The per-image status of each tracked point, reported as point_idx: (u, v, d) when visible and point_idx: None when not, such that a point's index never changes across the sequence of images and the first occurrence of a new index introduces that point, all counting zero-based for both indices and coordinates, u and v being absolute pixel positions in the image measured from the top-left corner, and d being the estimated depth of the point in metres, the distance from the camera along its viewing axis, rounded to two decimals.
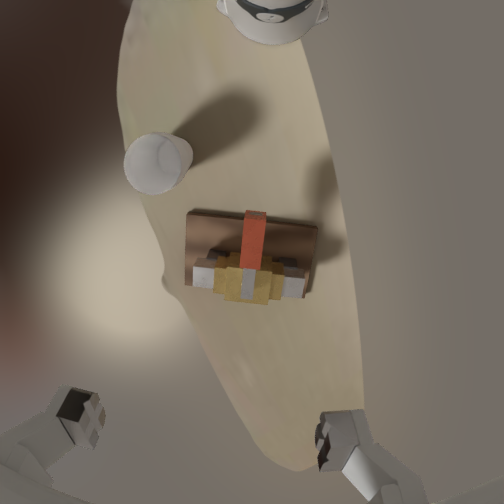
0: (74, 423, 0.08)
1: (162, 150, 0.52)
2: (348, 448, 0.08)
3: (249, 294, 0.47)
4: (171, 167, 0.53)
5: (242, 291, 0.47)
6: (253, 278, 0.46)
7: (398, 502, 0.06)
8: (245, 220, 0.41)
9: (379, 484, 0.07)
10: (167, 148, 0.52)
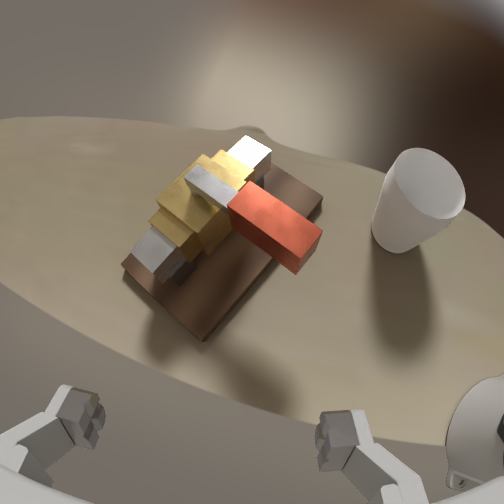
0: (73, 423, 0.08)
1: None
2: (348, 448, 0.08)
3: (193, 177, 0.28)
4: None
5: (205, 171, 0.28)
6: (213, 195, 0.27)
7: (398, 502, 0.06)
8: (318, 230, 0.23)
9: (379, 484, 0.07)
10: None
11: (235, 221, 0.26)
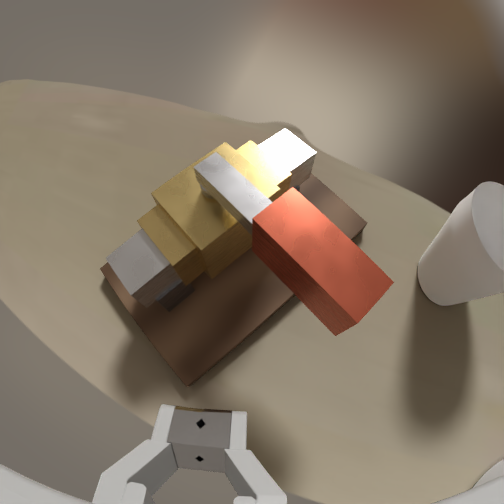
0: (190, 446, 0.08)
1: None
2: (218, 450, 0.08)
3: (208, 169, 0.19)
4: None
5: (225, 164, 0.19)
6: (233, 200, 0.18)
7: None
8: (387, 280, 0.14)
9: (247, 494, 0.07)
10: None
11: (260, 245, 0.17)
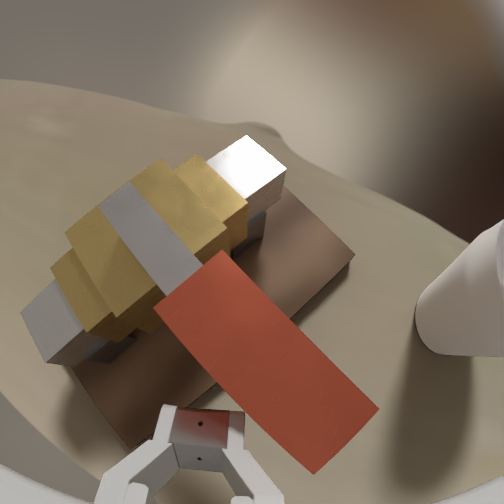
0: (192, 447, 0.08)
1: None
2: (216, 449, 0.08)
3: (115, 210, 0.13)
4: None
5: (139, 200, 0.13)
6: (144, 259, 0.12)
7: None
8: (370, 408, 0.08)
9: (244, 494, 0.07)
10: None
11: None
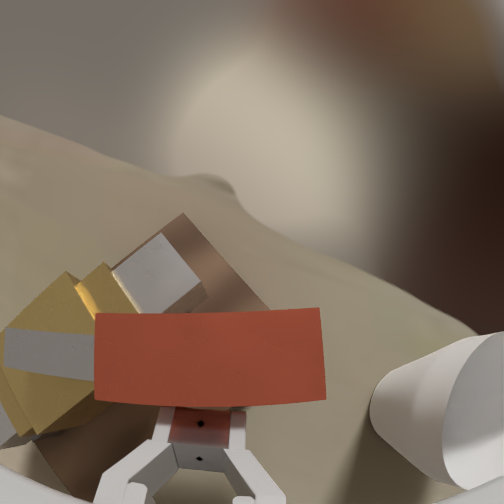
0: (191, 446, 0.08)
1: None
2: (218, 450, 0.08)
3: (16, 357, 0.10)
4: None
5: (23, 334, 0.11)
6: (64, 372, 0.10)
7: None
8: (311, 314, 0.09)
9: (246, 494, 0.07)
10: None
11: None
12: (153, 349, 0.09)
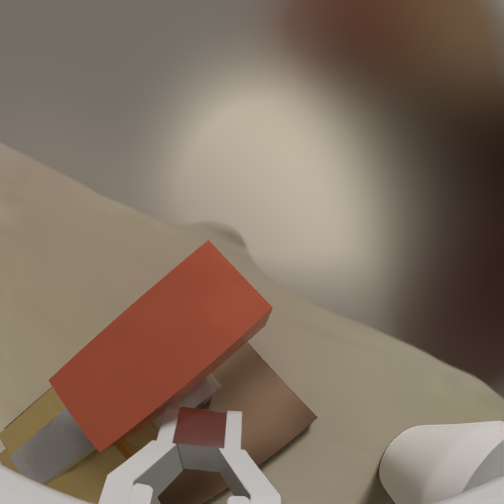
0: (196, 447, 0.08)
1: None
2: (213, 449, 0.08)
3: (33, 474, 0.08)
4: None
5: (23, 450, 0.08)
6: (72, 455, 0.09)
7: None
8: (205, 249, 0.10)
9: (241, 494, 0.07)
10: None
11: (135, 431, 0.09)
12: (107, 373, 0.08)
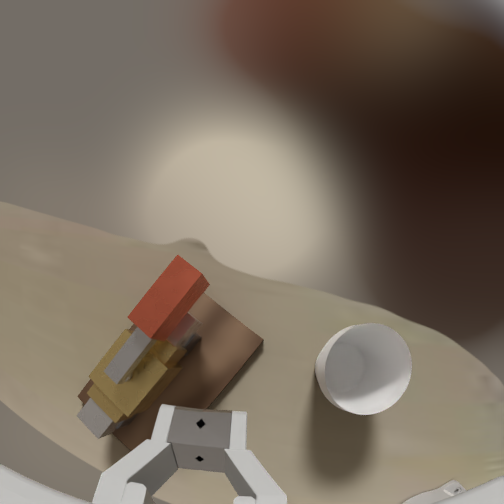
0: (190, 446, 0.08)
1: (355, 355, 0.38)
2: (218, 450, 0.08)
3: (117, 374, 0.26)
4: (329, 354, 0.38)
5: (112, 363, 0.26)
6: (136, 355, 0.26)
7: None
8: (177, 258, 0.27)
9: (247, 494, 0.07)
10: (354, 363, 0.37)
11: (162, 334, 0.27)
12: (150, 307, 0.26)
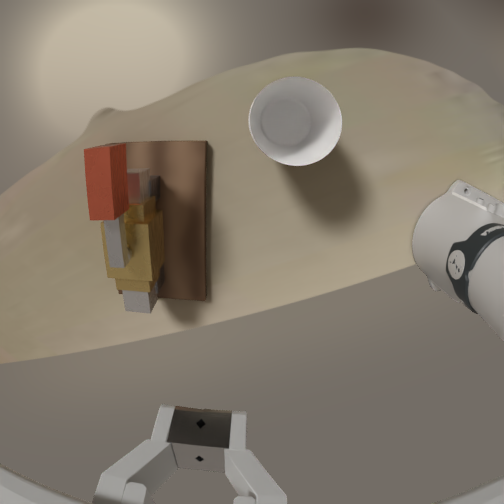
0: (190, 446, 0.08)
1: (292, 104, 0.38)
2: (218, 450, 0.08)
3: (119, 260, 0.32)
4: (269, 116, 0.38)
5: (110, 257, 0.32)
6: (118, 236, 0.31)
7: None
8: (85, 151, 0.26)
9: (247, 494, 0.07)
10: (295, 111, 0.38)
11: (121, 207, 0.30)
12: (97, 200, 0.27)
